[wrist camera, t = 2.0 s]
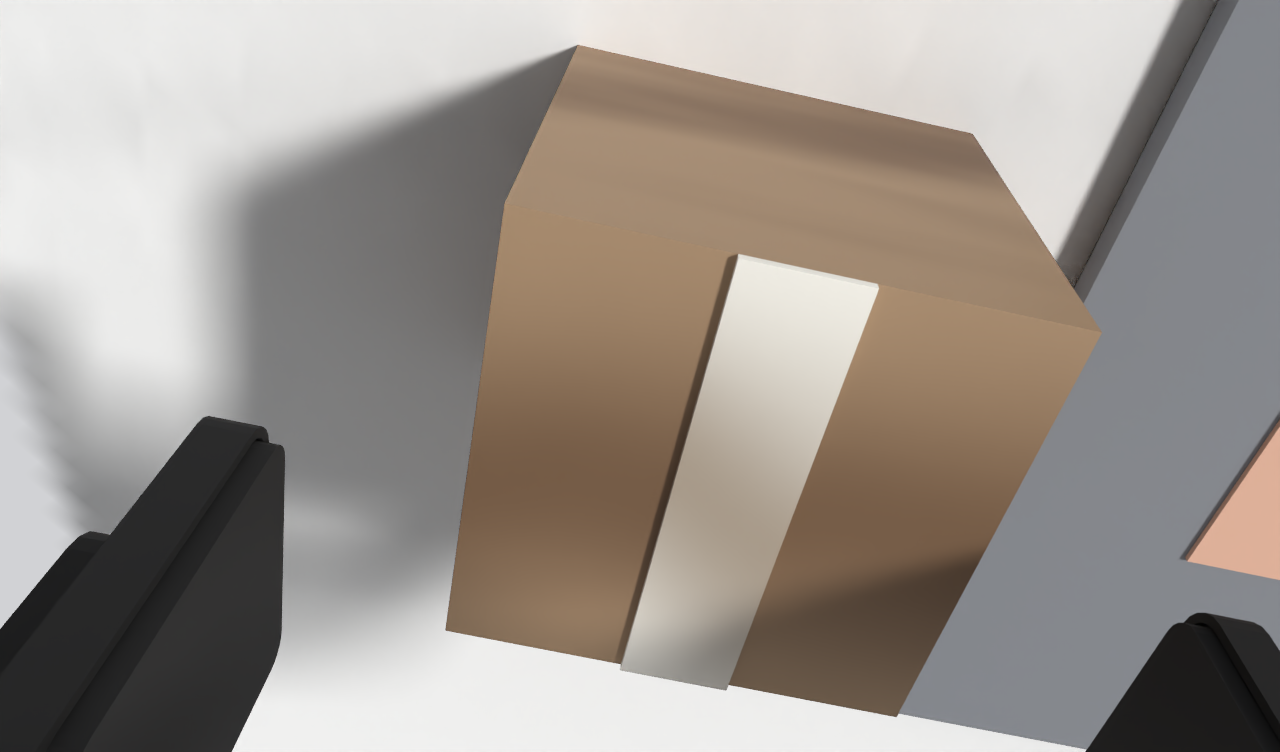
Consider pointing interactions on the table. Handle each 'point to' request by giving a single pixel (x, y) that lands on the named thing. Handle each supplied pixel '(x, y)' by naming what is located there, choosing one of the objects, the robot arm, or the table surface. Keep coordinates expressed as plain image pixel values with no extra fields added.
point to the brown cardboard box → (752, 385)
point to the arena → (1147, 426)
